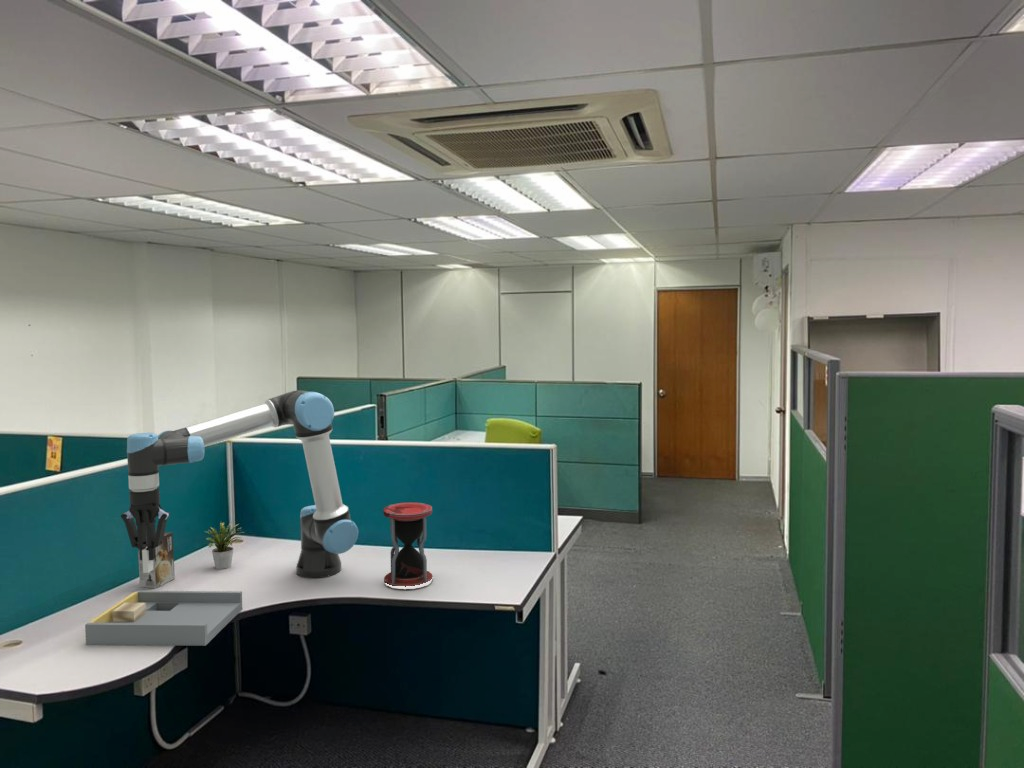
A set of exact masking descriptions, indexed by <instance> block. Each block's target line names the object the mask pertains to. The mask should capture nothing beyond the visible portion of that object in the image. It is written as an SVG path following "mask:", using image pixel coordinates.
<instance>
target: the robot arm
mask: <svg viewBox="0 0 1024 768" xmlns="http://www.w3.org/2000/svg"><path fill="white" fill-rule="evenodd" d="M334 416H335V408H334V404H333V403H332V401H331V400H330V399H329V398H328V397H327V396H325V394H322V393H319V392H316V391H308V390H302V389H297V390H293V391H289V392H286V393H283V394H280V395H277V396H273V397H271V398H268V399H266V400H265V401H264V403H262V404H259V405H256V406H252V407H249V408H245V409H241V410H239V411H235V412H232V413H228V414H225V415H222V416H219V417H216V418H212V419H208V420H205V421H202V422H199V423H196V424H192V425H189V426H186V427H183V428H178V429H175V430H165V431H164V430H163V431H162V432H160V433H159V434H158V435H157V433H156V432H155V433H154V432H138V433H137V432H136V433H133V434H130V435H129V436H127V439H126V456H127V459H126V460H127V471H128V489H129V492H128V497H129V504H130V505H129V506H130V507H129V508H128V511H126V512H124V513H122V514H121V515H120V518H121V519H122V521H123V522H124V524H125V527H126V532H127V534H128V539H129V542H130V544H131V547H132V548H137V550H138V549H139V556H140V560H143V573H149V572H150V571H152V570H154V568H153V560H154V559H155V558H156V550H155V548H156V547H158V546H160V545H161V544H162V542H163V537H164V532H165V531H166V526H167V522H168V520H169V517H170V516H171V512H170V511H167V512H166V511H165V510H164V509H163V508H162V506H161V504H160V502H161V494H160V493H161V491H160V488H159V487H160V476H159V475H160V474H159V473H160V471H159V469H160V468H159V467H161V466H168V465H169V466H170V465H177V464H178V465H180V464H188V463H189V464H192V463H196V462H201V461H202V460H203V459H204V457H205V447H207V446H211V445H214V444H218V443H221V442H224V441H227V440H230V439H234V438H237V437H240V436H242V435H245V434H248V433H249V434H250V433H252V432H255V431H259V430H262V429H265V428H268V427H271V426H272V427H273V428H279V427H282V426H285V425H289V426H290V425H293V429H294V430H293V431H294V433H295V438H296V439H298V440H300V442H301V443H302V447H303V453H304V457H305V462H306V467H307V472H308V477H309V482H310V487H311V491H312V496H313V500H314V505H313V504H312V505H308V506H304V507H303V508H301V510H300V516H299V520H300V521H299V522H300V546H301V547H300V553H299V557H298V560H297V563H296V566H295V567H296V569H295V570H296V575H297V576H299V575H300V577H302V578H308V577H318V578H325V577H324V576H326V577H329V576H328V575H330V576H333V575H335V573H336V574H338V573H339V572H340V571H341V570H342V561H341V557H340V555H341V554H344V553H347V552H348V551H350V550H351V549H352V548H353V547H354V545H355V544H356V542H357V540H358V538H359V528H358V526H357V524H356V523H355V521H353V520H352V519H351V513H350V511H349V510H350V509H349V506H348V505H345V504H344V503H343V500H342V499H343V498H342V493H341V489H340V483H339V480H338V474H337V473H338V472H337V469H336V468H337V467H336V465H335V463H336V462H335V460H334V459H335V458H334V454H333V450H332V444H331V440H330V434H331V433H332V431H333V423H332V422H333V420H334V418H335V417H334ZM157 517H158V522H157ZM156 522H157V525H156ZM146 546H147V548H146ZM337 572H338V573H337ZM332 574H333V575H332Z"/></svg>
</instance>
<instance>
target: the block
mask: <svg viewBox="0 0 1024 768" xmlns="http://www.w3.org/2000/svg"><path fill="white" fill-rule="evenodd" d="M145 613H146V603H124V604H122V605H121V606H119V607H118V608H116V609H115V610H113V611H112V614H113V622H135V621H136V620H137V619H139V618H140V617H141V616H143V615H144V614H145Z"/></svg>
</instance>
